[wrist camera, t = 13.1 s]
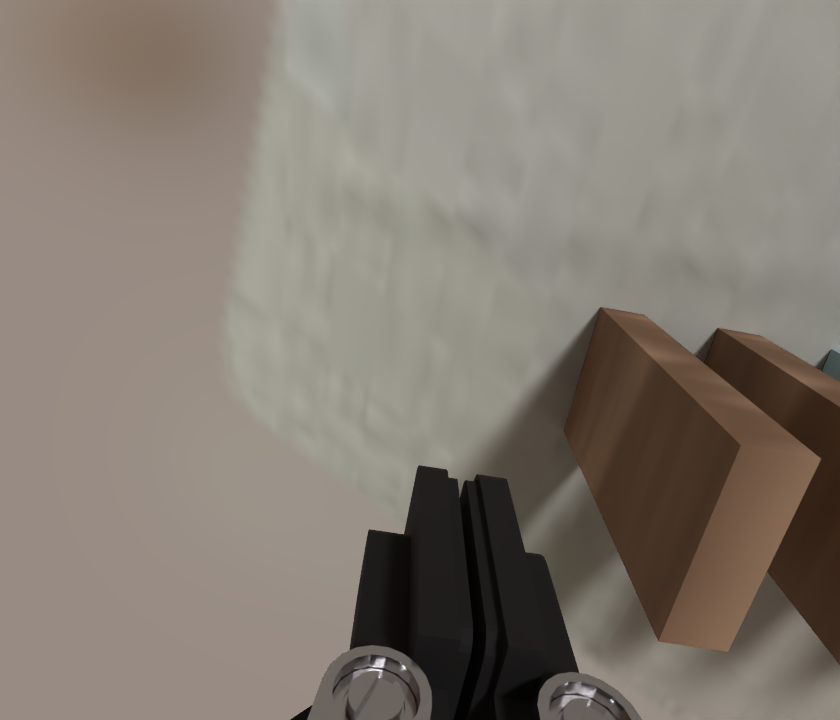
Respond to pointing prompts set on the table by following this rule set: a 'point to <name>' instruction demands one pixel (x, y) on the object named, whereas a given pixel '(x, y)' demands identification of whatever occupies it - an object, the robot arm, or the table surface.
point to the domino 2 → (830, 485)
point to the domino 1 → (683, 478)
